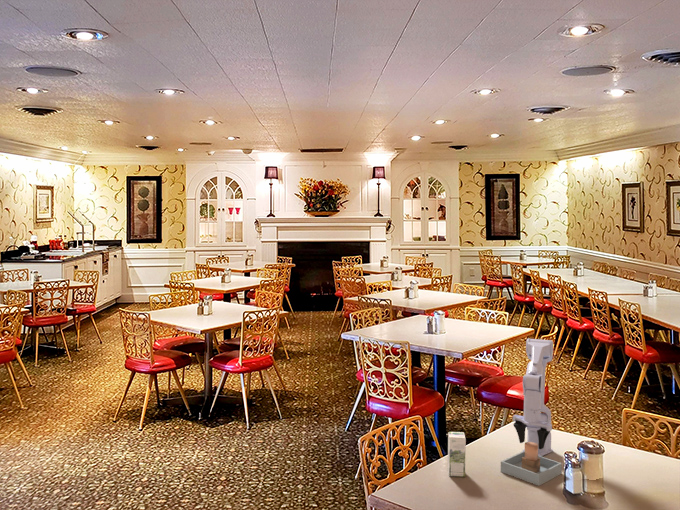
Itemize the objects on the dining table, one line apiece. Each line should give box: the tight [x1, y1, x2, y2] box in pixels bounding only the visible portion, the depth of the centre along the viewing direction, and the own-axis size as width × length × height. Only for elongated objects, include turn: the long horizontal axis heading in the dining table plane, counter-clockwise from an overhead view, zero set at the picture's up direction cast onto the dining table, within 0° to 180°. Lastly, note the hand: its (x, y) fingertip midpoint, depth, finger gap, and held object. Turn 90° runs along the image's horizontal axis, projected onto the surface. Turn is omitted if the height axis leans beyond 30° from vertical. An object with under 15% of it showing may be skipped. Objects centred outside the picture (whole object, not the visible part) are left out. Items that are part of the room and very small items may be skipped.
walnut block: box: [522, 457, 540, 473], centre depth 216 cm, size 5×5×5 cm
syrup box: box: [447, 431, 467, 478], centre depth 215 cm, size 6×6×14 cm
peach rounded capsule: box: [524, 441, 538, 461], centre depth 216 cm, size 5×5×5 cm
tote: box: [500, 450, 563, 487], centre depth 216 cm, size 15×15×4 cm
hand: (531, 445), depth 215 cm, fingers open, 7 cm apart
